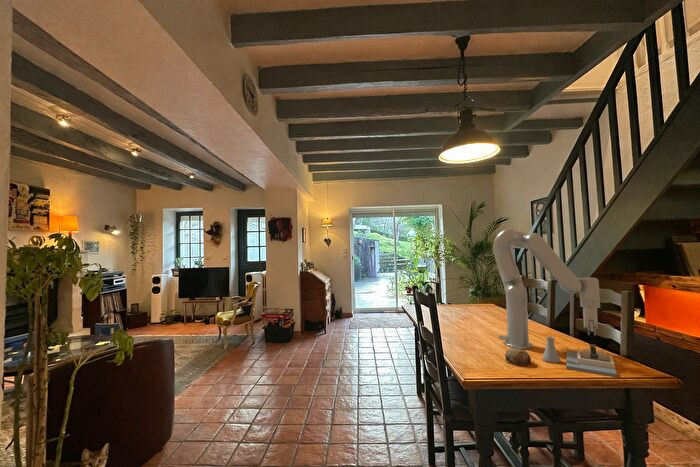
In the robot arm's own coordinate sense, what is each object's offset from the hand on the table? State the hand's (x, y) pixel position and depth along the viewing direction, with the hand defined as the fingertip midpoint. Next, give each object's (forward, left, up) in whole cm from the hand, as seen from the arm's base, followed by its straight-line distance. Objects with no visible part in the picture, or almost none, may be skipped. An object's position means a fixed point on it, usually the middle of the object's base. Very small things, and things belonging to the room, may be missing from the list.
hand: (592, 342), depth 149 cm
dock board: (-2, -18, -5) cm, 19 cm away
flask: (-15, -22, -5) cm, 27 cm away
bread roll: (-27, -32, -5) cm, 42 cm away
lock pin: (0, -6, -3) cm, 7 cm away
